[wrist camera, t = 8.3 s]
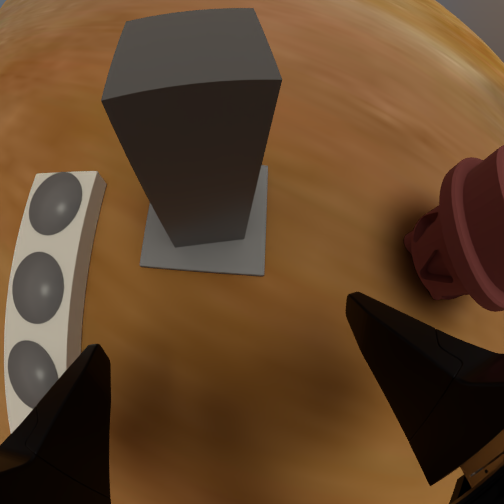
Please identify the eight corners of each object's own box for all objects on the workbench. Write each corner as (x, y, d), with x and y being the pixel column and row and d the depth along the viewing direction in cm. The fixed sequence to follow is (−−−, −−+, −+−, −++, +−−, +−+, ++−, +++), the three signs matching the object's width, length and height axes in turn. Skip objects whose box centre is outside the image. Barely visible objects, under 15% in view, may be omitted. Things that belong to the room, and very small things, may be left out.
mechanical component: (450, 340, 18) (364, 281, 19) (475, 244, 21) (403, 182, 22) (574, 326, 7) (501, 218, 7) (570, 196, 9) (493, 95, 10)
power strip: (91, 490, 13) (77, 506, 10) (31, 466, 12) (14, 476, 10) (106, 184, 19) (93, 165, 16) (47, 185, 19) (31, 168, 16)
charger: (244, 239, 19) (281, 79, 6) (175, 247, 18) (101, 100, 6) (234, 176, 20) (252, 6, 7) (171, 184, 19) (126, 19, 7)
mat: (263, 276, 18) (264, 275, 18) (141, 266, 18) (139, 265, 17) (267, 168, 21) (267, 165, 20) (160, 162, 20) (159, 159, 20)
